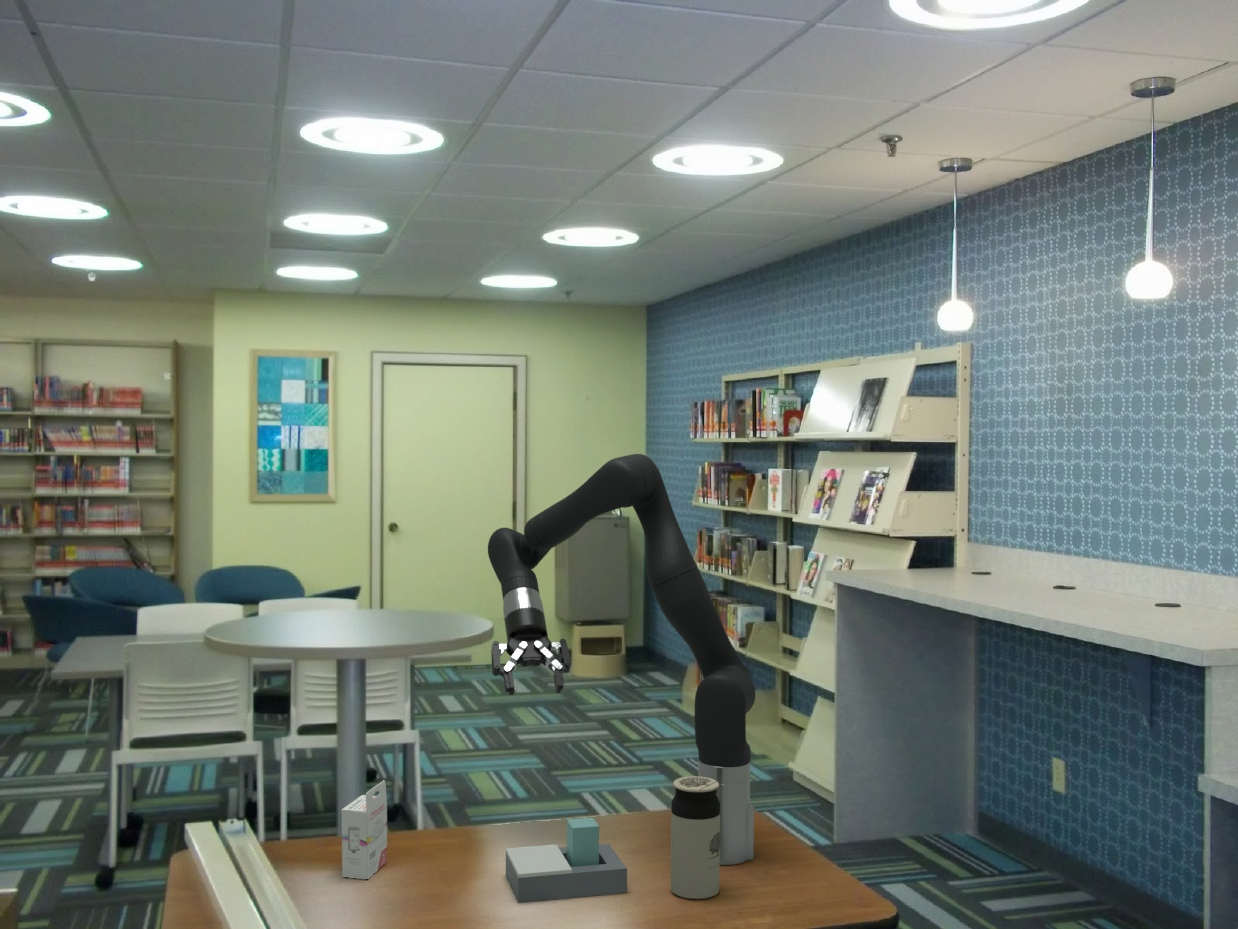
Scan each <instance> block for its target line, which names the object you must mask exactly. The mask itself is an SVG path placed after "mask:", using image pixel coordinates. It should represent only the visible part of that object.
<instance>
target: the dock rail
mask: <svg viewBox="0 0 1238 929" xmlns="http://www.w3.org/2000/svg"><path fill="white" fill-rule="evenodd" d="M505 877H506V879H507V882H508V883H510V884H509V886H510V888H511V890H512V892H513V894H514V897H515V898H516V901H517V903H518V904H519V903H521V904H522V903H530V902H541V901H551V900H561V899H562V900H563V899H571V898H572V899H573V898H583V897H594V896H595V897H596V896H605V895H615V894H617V895H618V894H626V893H628V867H627V866H626V865H625V863H624V862H623V861H622V859H621V858H620V857H619V855H618V854H617V852H616V851H615V850H614V848H613V847H612V846H611V845H610V843H603V844H602V843H601V844H600V843H599V865H588V866H576V867H570V865H569V864H568V862H567V846H563V847H559V846H558V844H545V845H536V846H535V845H533V846H523V847H521V846H520V847H519V846H518V847H511V848H510V847H508V848H505Z"/></svg>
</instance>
